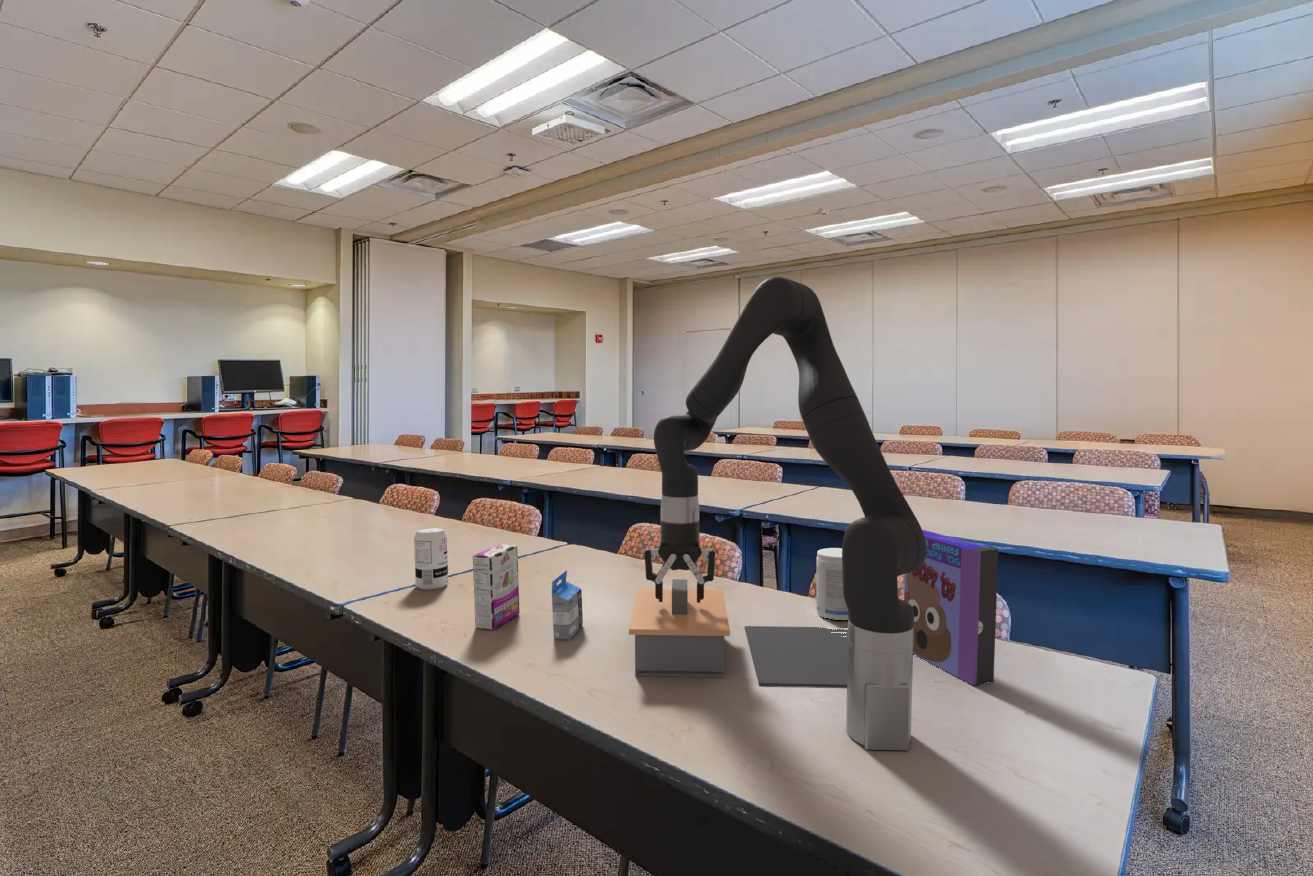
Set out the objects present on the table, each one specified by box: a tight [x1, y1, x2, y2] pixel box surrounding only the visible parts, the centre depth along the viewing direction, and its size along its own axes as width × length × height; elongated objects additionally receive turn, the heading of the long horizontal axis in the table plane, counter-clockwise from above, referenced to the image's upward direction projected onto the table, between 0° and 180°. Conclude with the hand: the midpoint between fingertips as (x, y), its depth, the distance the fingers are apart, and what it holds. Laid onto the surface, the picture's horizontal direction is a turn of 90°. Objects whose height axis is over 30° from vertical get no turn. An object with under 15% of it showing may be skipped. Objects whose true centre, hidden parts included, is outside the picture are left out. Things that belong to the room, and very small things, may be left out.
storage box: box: [634, 635, 725, 678], centre depth 130 cm, size 16×22×8 cm
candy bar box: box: [472, 543, 520, 631], centre depth 147 cm, size 11×5×16 cm, turn 161°
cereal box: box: [903, 529, 999, 687], centre depth 123 cm, size 17×5×24 cm, turn 21°
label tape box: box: [551, 570, 584, 641], centre depth 141 cm, size 9×4×12 cm, turn 168°
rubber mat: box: [744, 625, 848, 688], centre depth 129 cm, size 28×24×1 cm
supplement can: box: [413, 526, 449, 591], centre depth 174 cm, size 8×8×15 cm
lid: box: [628, 578, 731, 637], centre depth 130 cm, size 18×24×6 cm
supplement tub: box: [816, 547, 848, 621], centre depth 151 cm, size 10×10×15 cm
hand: (679, 601), depth 130 cm, fingers open, 7 cm apart
